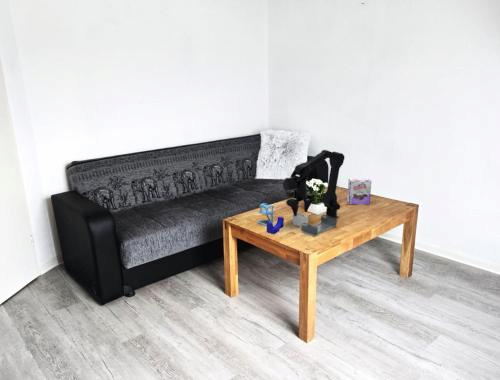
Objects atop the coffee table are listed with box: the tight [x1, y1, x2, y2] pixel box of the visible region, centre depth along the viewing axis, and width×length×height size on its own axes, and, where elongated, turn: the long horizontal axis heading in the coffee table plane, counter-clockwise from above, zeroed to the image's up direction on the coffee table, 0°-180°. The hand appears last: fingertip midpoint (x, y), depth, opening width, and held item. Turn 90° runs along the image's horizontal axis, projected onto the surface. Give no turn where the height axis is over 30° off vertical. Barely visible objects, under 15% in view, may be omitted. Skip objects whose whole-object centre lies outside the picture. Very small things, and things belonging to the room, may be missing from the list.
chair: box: [256, 202, 275, 227], centre depth 235 cm, size 8×8×12 cm
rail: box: [300, 214, 338, 237], centre depth 225 cm, size 20×9×5 cm, turn 134°
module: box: [292, 212, 309, 228], centre depth 232 cm, size 4×8×6 cm, turn 44°
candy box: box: [346, 178, 372, 205], centre depth 265 cm, size 14×6×16 cm, turn 88°
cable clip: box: [266, 216, 285, 235], centre depth 225 cm, size 12×4×6 cm, turn 141°
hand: (300, 214), depth 231 cm, fingers open, 9 cm apart
